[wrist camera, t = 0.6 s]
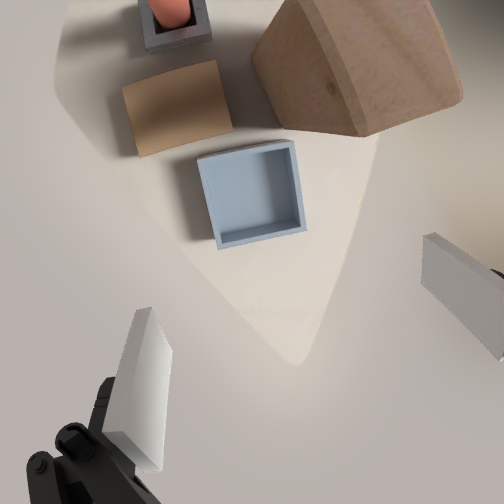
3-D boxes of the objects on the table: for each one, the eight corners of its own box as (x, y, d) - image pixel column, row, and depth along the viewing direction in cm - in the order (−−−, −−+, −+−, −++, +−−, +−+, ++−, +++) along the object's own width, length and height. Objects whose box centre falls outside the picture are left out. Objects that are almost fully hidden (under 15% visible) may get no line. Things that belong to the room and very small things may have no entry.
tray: (198, 156, 34) (196, 160, 31) (285, 139, 34) (293, 140, 31) (217, 238, 38) (217, 250, 35) (298, 221, 39) (306, 230, 35)
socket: (142, 5, 26) (137, -3, 23) (201, -9, 26) (201, -19, 23) (150, 54, 29) (145, 48, 26) (211, 39, 29) (211, 32, 26)
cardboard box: (130, 91, 30) (121, 87, 27) (215, 66, 30) (215, 59, 27) (147, 154, 33) (139, 158, 30) (231, 130, 34) (233, 131, 30)
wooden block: (281, 132, 34) (357, 144, 16) (246, 56, 30) (286, -16, 12) (355, 104, 34) (472, 103, 15) (323, 32, 29) (419, -29, 11)
